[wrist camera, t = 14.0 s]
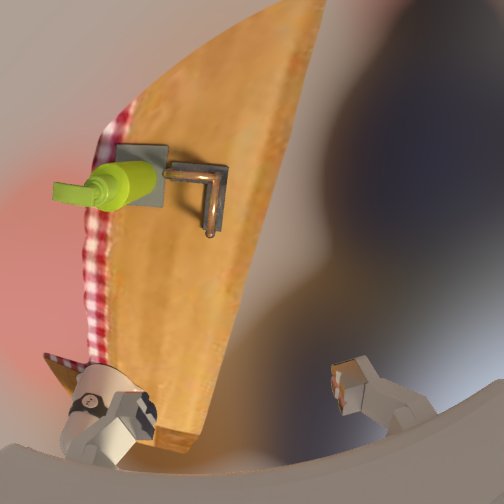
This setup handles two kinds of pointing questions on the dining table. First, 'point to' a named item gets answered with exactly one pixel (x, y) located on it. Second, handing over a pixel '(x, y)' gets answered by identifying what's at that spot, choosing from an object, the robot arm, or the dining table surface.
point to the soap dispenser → (110, 186)
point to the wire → (215, 189)
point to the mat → (156, 159)
